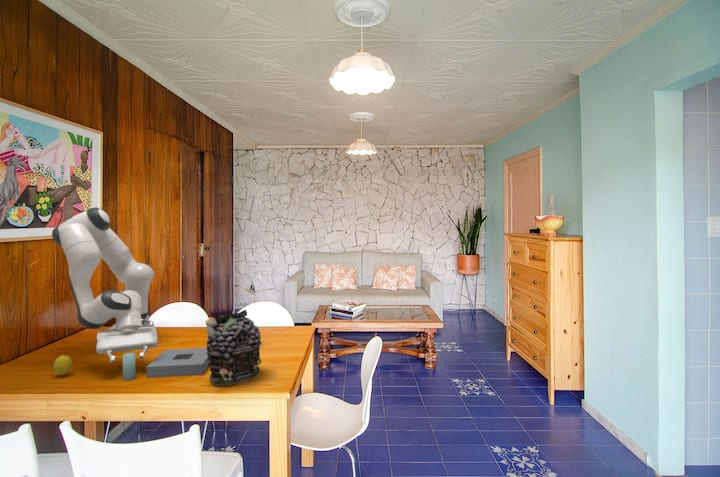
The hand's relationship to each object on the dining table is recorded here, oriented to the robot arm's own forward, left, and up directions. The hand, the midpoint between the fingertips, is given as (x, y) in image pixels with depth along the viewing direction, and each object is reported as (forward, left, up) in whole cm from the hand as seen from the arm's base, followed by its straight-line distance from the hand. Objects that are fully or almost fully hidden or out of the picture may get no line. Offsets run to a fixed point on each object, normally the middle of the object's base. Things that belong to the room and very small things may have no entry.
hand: (127, 359), depth 143 cm
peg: (+1, -1, -7) cm, 7 cm away
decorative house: (+40, -6, -7) cm, 41 cm away
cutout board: (+17, +9, -7) cm, 20 cm away
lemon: (-25, +5, -7) cm, 26 cm away
